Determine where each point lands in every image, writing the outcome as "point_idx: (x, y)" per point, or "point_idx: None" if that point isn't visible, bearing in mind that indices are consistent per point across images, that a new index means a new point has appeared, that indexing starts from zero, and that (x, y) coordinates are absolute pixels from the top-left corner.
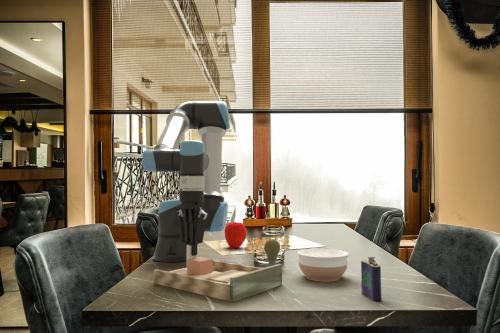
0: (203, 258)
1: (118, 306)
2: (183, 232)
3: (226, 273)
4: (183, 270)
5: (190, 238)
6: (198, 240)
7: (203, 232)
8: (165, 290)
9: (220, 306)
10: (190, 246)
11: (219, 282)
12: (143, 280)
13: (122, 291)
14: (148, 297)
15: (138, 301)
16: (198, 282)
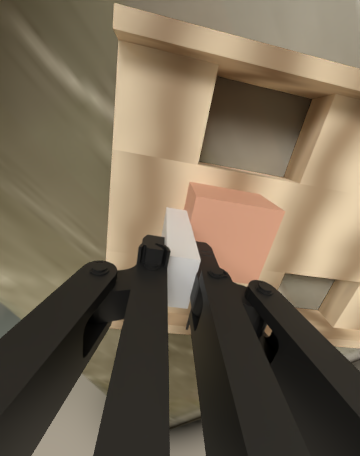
0: (236, 223)
1: (179, 409)
2: (74, 369)
3: (319, 189)
4: (139, 225)
5: (196, 348)
6: (264, 329)
7: (342, 368)
8: None
9: (347, 347)
10: (187, 299)
11: (357, 343)
12: (53, 286)
13: (106, 365)
14: (188, 367)
15: (189, 386)
16: None
